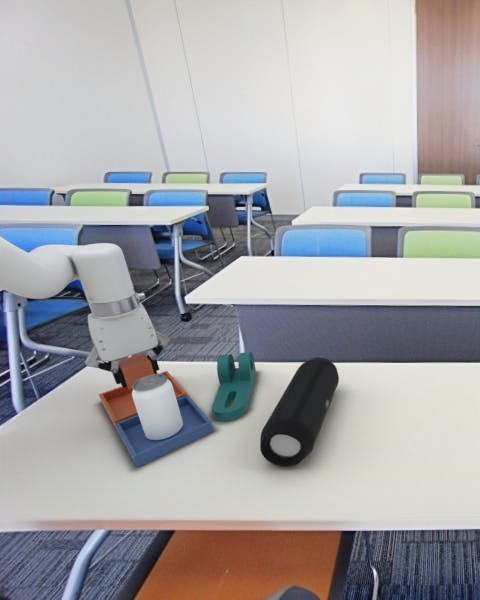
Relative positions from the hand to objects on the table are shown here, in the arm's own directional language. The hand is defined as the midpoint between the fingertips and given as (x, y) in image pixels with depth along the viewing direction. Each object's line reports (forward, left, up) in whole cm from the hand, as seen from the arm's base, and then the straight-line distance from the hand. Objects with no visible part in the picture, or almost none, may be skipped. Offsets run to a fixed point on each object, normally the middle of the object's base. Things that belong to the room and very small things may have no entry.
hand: (139, 378), depth 88 cm
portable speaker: (+21, -32, -7) cm, 39 cm away
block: (0, 0, 0) cm, 0 cm away
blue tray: (0, -14, -7) cm, 15 cm away
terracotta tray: (0, 0, -7) cm, 7 cm away
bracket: (+15, -12, -7) cm, 20 cm away
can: (0, -14, -6) cm, 15 cm away
